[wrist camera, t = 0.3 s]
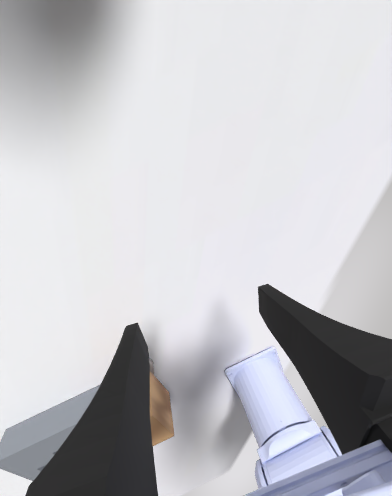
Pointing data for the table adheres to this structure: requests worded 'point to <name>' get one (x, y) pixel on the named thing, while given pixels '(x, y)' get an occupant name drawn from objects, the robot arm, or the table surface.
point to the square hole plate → (41, 436)
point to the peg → (159, 410)
